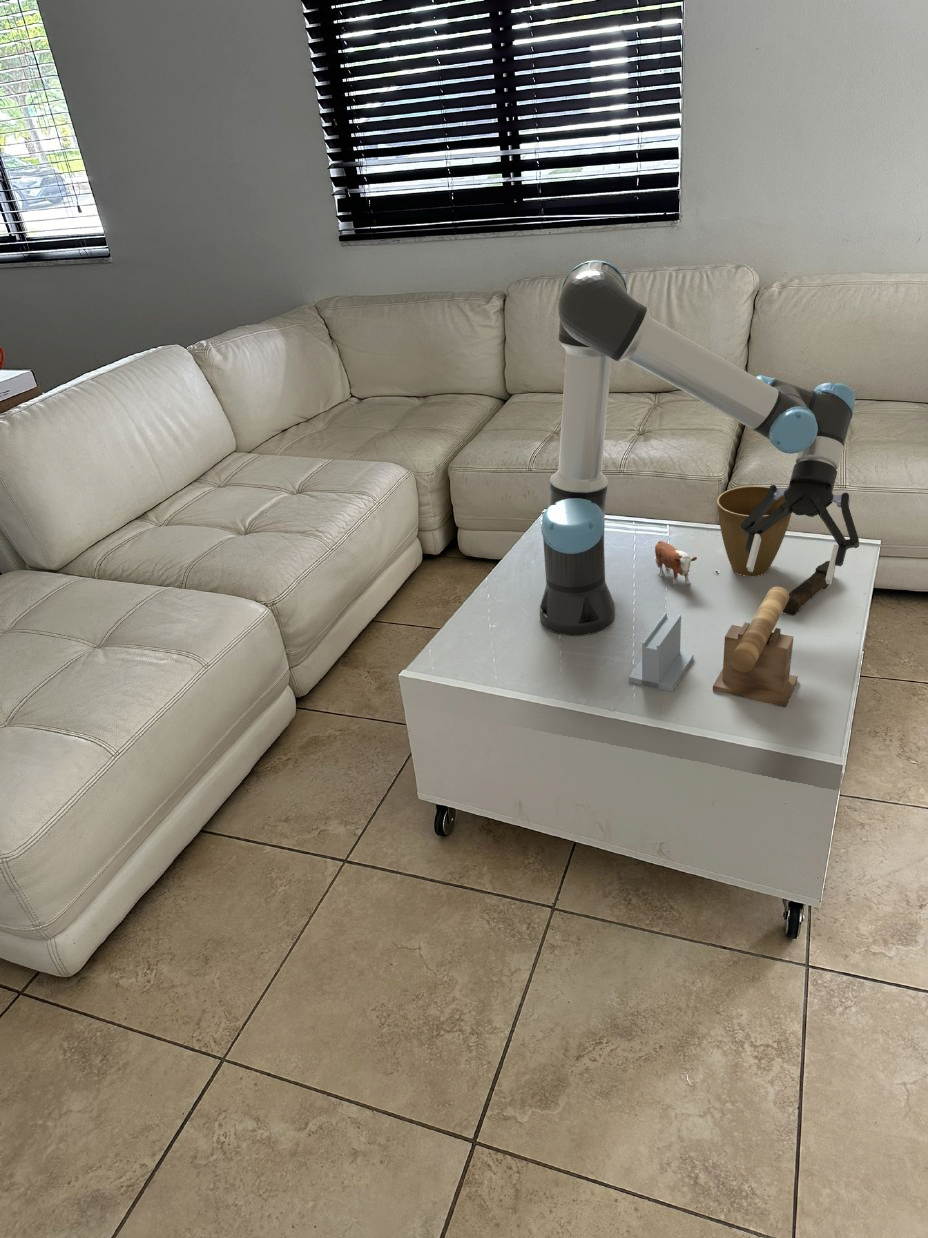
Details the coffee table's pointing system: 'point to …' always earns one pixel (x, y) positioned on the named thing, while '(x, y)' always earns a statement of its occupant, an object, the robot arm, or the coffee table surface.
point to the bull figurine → (673, 561)
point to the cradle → (662, 656)
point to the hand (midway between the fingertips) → (787, 575)
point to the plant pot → (731, 516)
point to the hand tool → (807, 589)
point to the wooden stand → (759, 670)
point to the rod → (759, 630)
